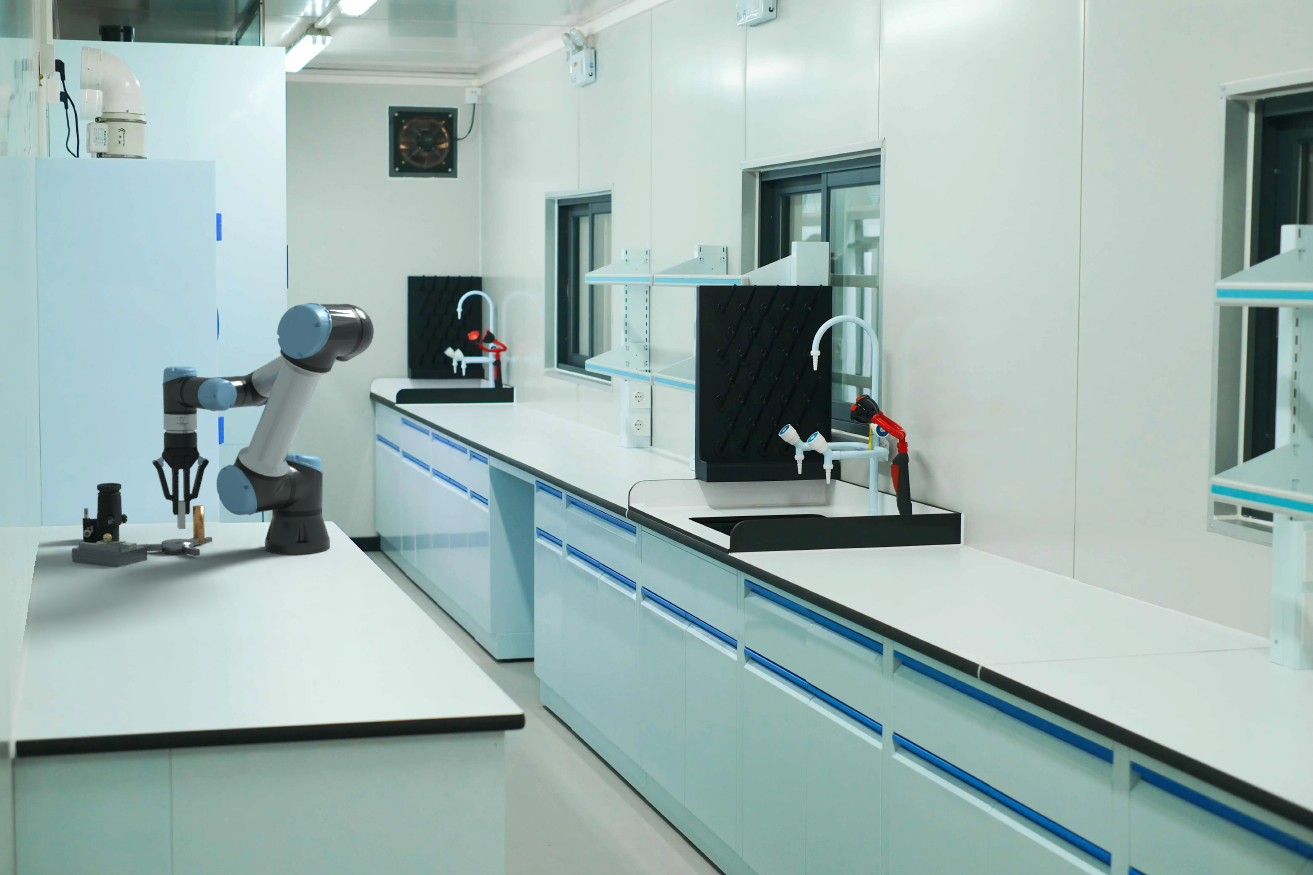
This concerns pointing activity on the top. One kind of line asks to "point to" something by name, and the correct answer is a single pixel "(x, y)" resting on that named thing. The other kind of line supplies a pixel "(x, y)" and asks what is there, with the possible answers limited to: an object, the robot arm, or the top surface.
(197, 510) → the capstan
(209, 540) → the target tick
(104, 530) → the scope
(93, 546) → the level stand
